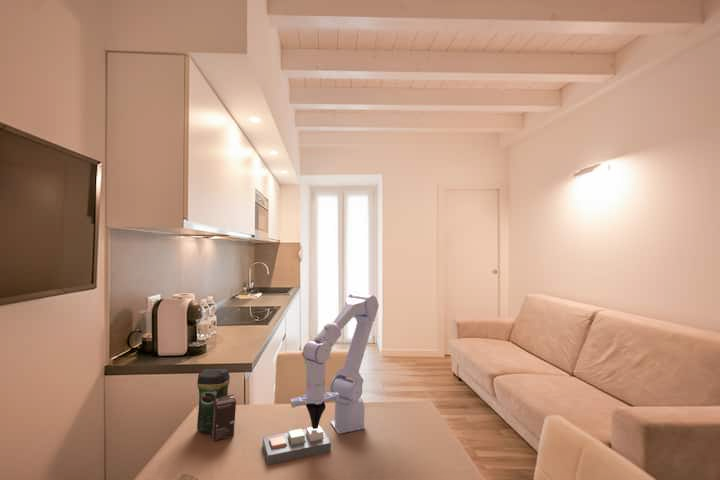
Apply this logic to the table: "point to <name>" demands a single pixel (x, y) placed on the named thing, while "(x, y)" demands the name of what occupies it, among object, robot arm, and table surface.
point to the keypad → (295, 448)
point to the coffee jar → (210, 395)
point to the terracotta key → (277, 442)
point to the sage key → (296, 437)
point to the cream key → (314, 434)
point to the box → (223, 417)
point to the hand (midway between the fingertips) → (314, 427)
